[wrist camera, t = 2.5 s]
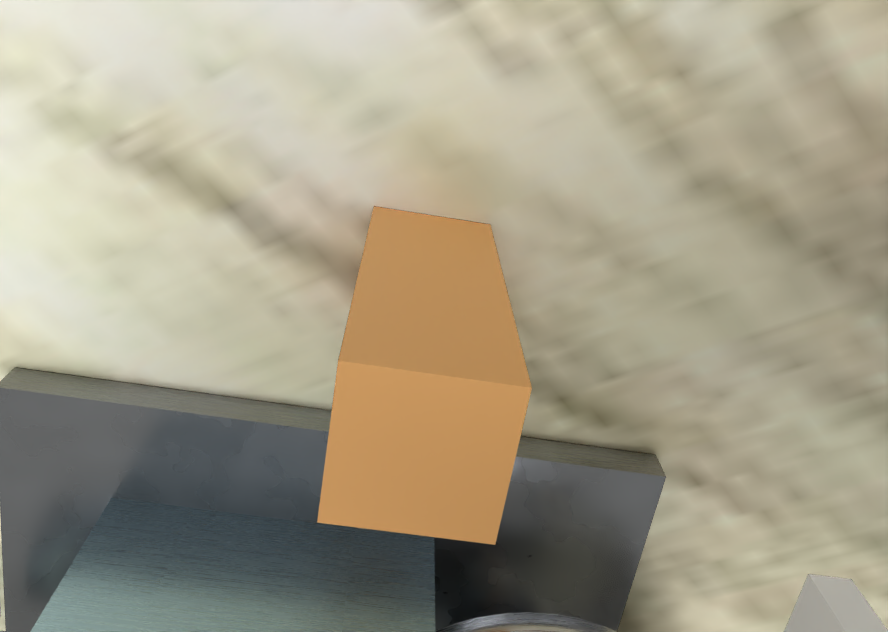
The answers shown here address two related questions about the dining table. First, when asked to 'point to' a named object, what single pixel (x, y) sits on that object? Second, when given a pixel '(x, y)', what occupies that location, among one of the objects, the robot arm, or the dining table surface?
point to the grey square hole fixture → (282, 525)
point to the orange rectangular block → (426, 385)
